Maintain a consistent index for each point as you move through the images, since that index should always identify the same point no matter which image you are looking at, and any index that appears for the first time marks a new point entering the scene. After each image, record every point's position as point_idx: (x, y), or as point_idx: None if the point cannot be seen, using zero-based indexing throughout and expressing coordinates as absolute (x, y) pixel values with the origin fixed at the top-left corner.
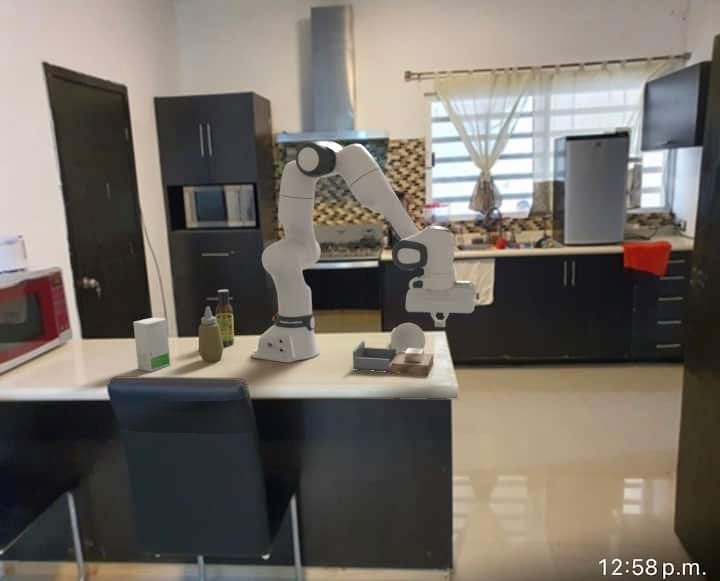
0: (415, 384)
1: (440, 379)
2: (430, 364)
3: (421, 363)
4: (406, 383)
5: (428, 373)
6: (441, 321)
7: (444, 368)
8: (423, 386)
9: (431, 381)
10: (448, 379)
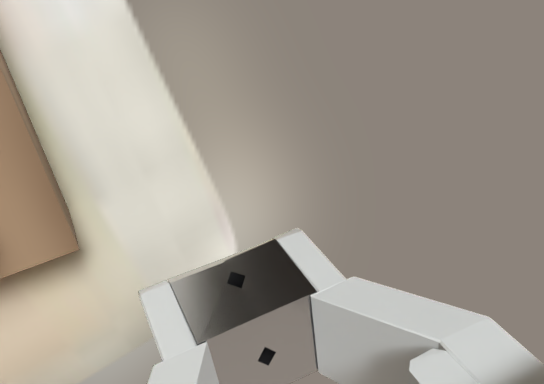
0: (75, 355)
1: (172, 227)
2: (27, 121)
3: (3, 242)
4: (17, 375)
5: (64, 200)
6: (303, 374)
7: (115, 28)
8: (128, 348)
9: (137, 277)
10: (214, 204)
